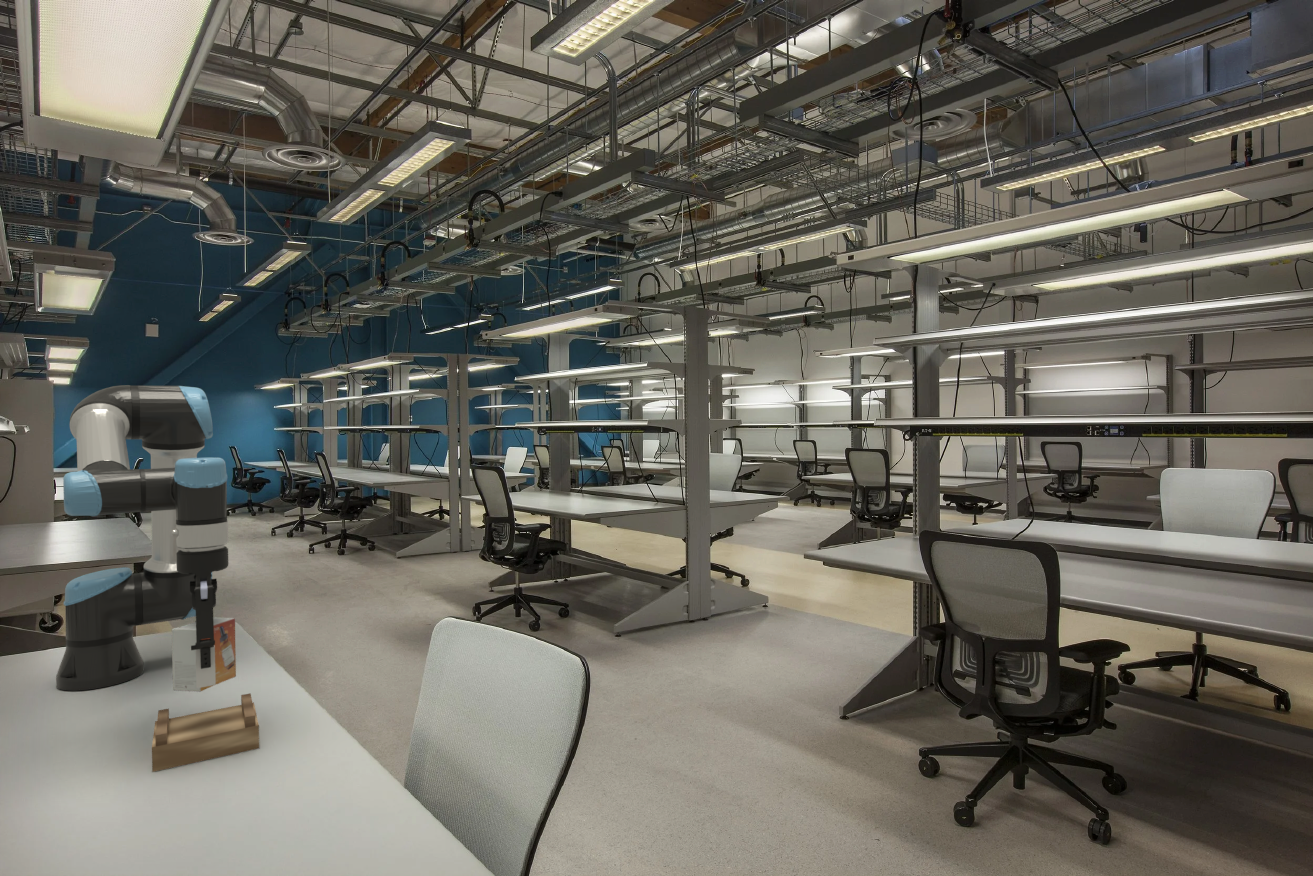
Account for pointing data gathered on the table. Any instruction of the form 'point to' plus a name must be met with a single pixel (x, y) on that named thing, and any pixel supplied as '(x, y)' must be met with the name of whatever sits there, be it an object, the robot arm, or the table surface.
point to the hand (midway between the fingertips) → (205, 677)
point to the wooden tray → (204, 735)
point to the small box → (187, 658)
